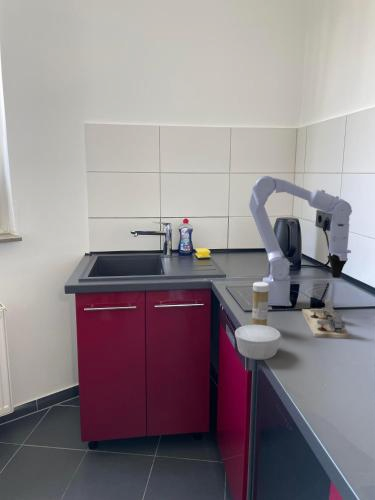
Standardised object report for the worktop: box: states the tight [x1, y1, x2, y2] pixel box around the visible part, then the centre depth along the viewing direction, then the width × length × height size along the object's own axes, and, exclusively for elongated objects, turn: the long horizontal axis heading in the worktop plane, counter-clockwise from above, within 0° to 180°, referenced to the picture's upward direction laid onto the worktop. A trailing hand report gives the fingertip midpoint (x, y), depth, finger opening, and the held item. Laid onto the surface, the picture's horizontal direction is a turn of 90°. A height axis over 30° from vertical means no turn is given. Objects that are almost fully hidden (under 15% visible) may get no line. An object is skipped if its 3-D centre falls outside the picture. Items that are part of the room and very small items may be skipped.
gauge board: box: [301, 308, 350, 339], centre depth 118 cm, size 9×20×2 cm, turn 174°
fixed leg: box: [317, 309, 346, 331], centre depth 110 cm, size 7×3×5 cm, turn 84°
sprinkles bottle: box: [251, 281, 269, 326], centre depth 114 cm, size 5×5×14 cm
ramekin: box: [234, 324, 282, 361], centre depth 99 cm, size 11×11×5 cm
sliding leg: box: [310, 298, 335, 318], centre depth 120 cm, size 7×3×5 cm, turn 84°
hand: (335, 277), depth 131 cm, fingers closed
